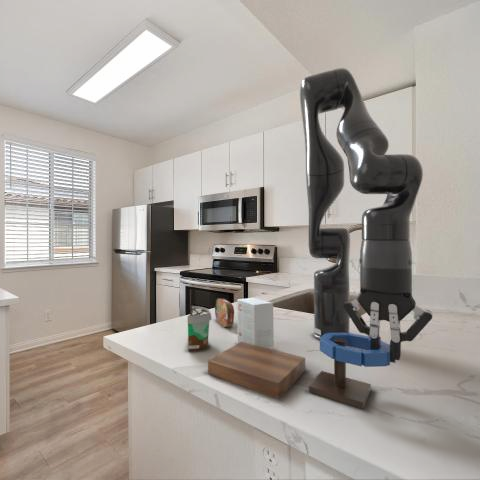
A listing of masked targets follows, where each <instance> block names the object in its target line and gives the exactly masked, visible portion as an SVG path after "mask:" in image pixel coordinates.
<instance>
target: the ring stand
mask: <svg viewBox="0 0 480 480" xmlns="http://www.w3.org/2000/svg"><path fill="white" fill-rule="evenodd" d="M334 343H336V344H338V345H339V346H344V347H347V346H346V341H345V340H343V339H334ZM371 391H372V384H371V383H368V382H364V381H361V380H357V379H353V378H350V377H347V363H345V362H341V361H336V359H333V373H332V372H327V371H324V370H321V371H319V373H318V374H317V376H315V378H314V379H313V381H312V382H311V383H310V384H309V385H308V392H309V393H310V394H311V393H312V394H315V395H318V396H320V397H323V398H327V399H331V400H333V401H336V402H339V403H342V404H345V405H348V406H352V407H354V408H357V409H360V410H363V409H364V407H365V406H366V403H367V401H368V398H369V395H370V393H371Z"/></svg>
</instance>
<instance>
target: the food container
mask: <svg viewBox="0 0 480 480" xmlns="http://www.w3.org/2000/svg"><path fill="white" fill-rule="evenodd" d="M210 321H212V313H211V311H210V309H209V308H206V307H203V306H197V305H191V311H190V313H189V315H187V345H188V347H187V348H188V349H187V350H188V352H190V353H191V352H200V351H204V350H206V349H207V348H208V346H209V334H210V333H209V332H210Z"/></svg>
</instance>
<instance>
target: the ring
mask: <svg viewBox="0 0 480 480" xmlns="http://www.w3.org/2000/svg"><path fill="white" fill-rule="evenodd" d="M334 339H343V340H345V341H346V347H344V346H339V345H338V344H336V343H334ZM319 350H320V352H321V353H323V354H324V355H325V356H327V357H329V358H330V359H332V360H334V359H336V361H341V362H345V363H346V364H349V365H354V366H357V367H365V368H374V367H379V368H380V367H388V366H391V363H392V362H390V343H387V342H386V341H382V340H381V346H380V348H379V350H370V337H369V336H368V335H364V334H357V333H353V332H349V333H348V334H347V333H327V334H324V335H323V336H322V337H321V338H320V339H319Z"/></svg>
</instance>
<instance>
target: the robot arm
mask: <svg viewBox="0 0 480 480" xmlns="http://www.w3.org/2000/svg"><path fill="white" fill-rule="evenodd" d="M299 87H300V88H299V103H300V104H299V105H300V112H301V118H302V121H301V122H302V128H303V129H302V130H303V135H304V148H305V151H304V152H305V154H304V155H305V183H306V194H307V206H308V207H307V208H308V252H309V254H310V256H311V257H312V258H314V259H332V260H333V259H335V260H336V262H335V263H333V264H332V265H330V266H328V267H325V268H320V269H317V270H315V271H314V273H313V294H314V295H313V318H314V320H313V321H314V322H313V324H314V325H313V337H314V338H316V339H318V340H320V338H321V337H322V336H323V335H324V334H327V333H347V334H348V333H350V321H352V323H353V324H354V326H355V327H356V329H357V331H358V332H359V333H360V334H365V335H366V336H369V337H370V350H379V348H380V346H381V341H382V337H381V336H380V329H381V326H380V325H381V321H386V322H389V329H390V341H389V345H390V362H391V363H394V364H395V363H396V361H399V360H400V359H401V357H402V347H401V346H402V345H401V344H402V343H403V342H413V340H415V338H416V337H417V336H418V335H419V334H420V333H421V332H422V331H423V329H424V328H425V327H426V326H427V325H428V324H429V323H430V322H431V320H432V319H433V312H432V311H431V310H429V309H424V308H422V307H420V306H419V305H417V302H416V300H415V299H414V297H413V254H412V253H413V251H412V246H411V215H412V212H413V209H414V206H415V203H416V200H417V196H418V195H419V191H420V188H421V185H422V182H423V179H424V178H423V177H424V170H423V166H422V164H421V162H420V160H419V158H417V157H416V156H415V155H412V154H407V153H401V154H399V153H398V154H387V152H388V150H389V146H390V145H389V139H388V138H387V136H386V134H385V133H384V132H383V131H382V129H381V128H380V126H378V124H377V122H376V121H375V120H374V119H373V118H372V116H371V114H370V112H369V111H368V108H367V106H366V103H365V101H364V98H363V96H362V94H361V91H360V89H359V86H358V84H357V81H356V79H355V78H354V75H353V74H352V73H351V71H350V70H348V69H347V68H345V67H339V68H335V69H330V70H326V71H323V72H319V73H315V74H312V75H308V76H306V77H304V78H303V79H302V80H301V83H300V86H299ZM339 109H342V110H343V113H342V115H341V116H340V119H339V121H338V124H337V127H336V140H337V142H338V144H339V146H340V148H341V149H342V151H343V153H344V154H345V157H346V159H347V165H348V173H349V183H350V185H351V187H352V188H353V189H354V190H355V191H356V192H358V193H359V194H363V195H386V197H385V199H384V202H383V204H382V205H380V206H375V207H371V208H368V209H366V210H364V211H363V213H362V215H361V244H360V245H361V246H360V250H359V293H358V294H357V296H356V298H355V299H353V300H350V253H351V234H350V231H349V229H348V228H346V227H321V225H322V221H323V220H324V218H325V216H326V214H327V213H328V211H329V209H330V208H331V206H332V205H333V204H334V203H335V201H336V200H337V198H338V197H339V196H340V194H341V193H342V191H343V190H344V186H345V161H344V159H343V157H342V155H341V153H339V151H338V150H337V149H336V147H335V146H334V145H333V144H332V143H331V142H330V140H329V139H328V138H327V137H326V135H325V134H324V132H323V130H322V127H321V123H320V120H319V119H320V118H319V115H320V114H323V113H324V114H325V113H327V112H332V111H337V110H339ZM359 305H360V306H361V308H362V309H363V310H364V311H365V313H366V314H367V315H368V316H369V325H368V324H367V323H366V321H365V320H364V318H363V317H362V315H361V314H360V312H359V311H360V306H359ZM412 311H413V313H414V314H413V319H414V320H415V321H414V322H413V323H412V324H411V325H410V327H409V328H408V329H407V330H406V331H401V329H402V328H401V321H402V320H404V318H405V317H407V316H408V315H409V314H410V313H411V312H412Z"/></svg>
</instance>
